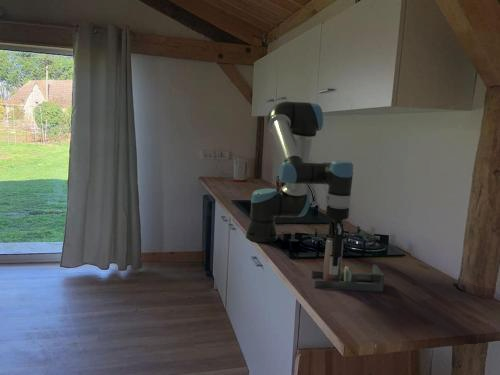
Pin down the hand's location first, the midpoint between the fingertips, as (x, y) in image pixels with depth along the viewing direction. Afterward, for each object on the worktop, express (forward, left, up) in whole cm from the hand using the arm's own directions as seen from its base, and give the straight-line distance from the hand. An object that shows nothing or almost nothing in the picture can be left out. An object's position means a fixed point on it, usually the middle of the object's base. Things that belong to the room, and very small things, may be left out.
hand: (331, 270), depth 141 cm
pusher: (0, +7, -4) cm, 8 cm away
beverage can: (0, 0, -4) cm, 4 cm away
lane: (0, +5, -5) cm, 7 cm away
